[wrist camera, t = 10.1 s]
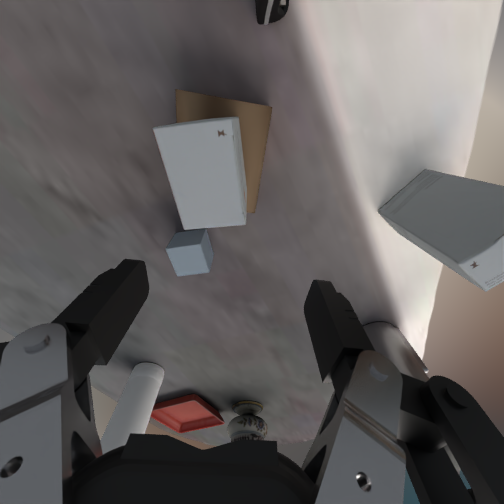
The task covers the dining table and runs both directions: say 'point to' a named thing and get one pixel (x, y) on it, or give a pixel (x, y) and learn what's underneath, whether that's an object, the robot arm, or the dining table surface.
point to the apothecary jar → (247, 422)
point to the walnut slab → (251, 128)
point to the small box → (205, 171)
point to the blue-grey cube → (190, 252)
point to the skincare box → (453, 223)
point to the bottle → (133, 406)
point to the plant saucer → (186, 414)
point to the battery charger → (270, 10)
